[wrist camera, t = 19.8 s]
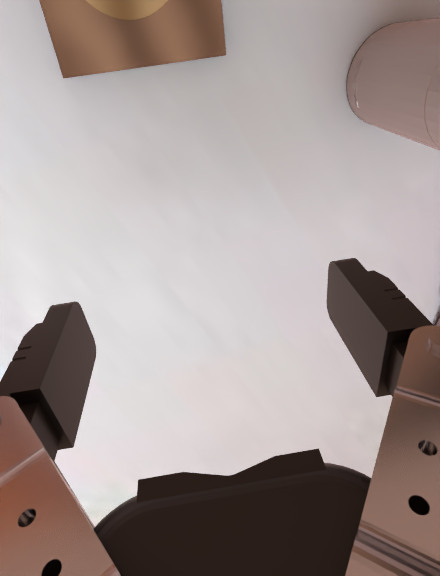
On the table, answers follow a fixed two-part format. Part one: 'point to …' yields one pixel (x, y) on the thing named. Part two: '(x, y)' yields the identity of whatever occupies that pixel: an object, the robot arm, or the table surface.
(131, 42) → the peg board
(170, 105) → the table surface
